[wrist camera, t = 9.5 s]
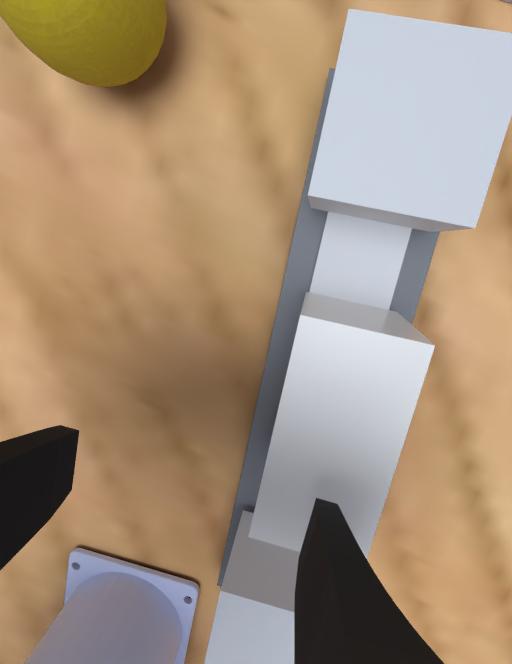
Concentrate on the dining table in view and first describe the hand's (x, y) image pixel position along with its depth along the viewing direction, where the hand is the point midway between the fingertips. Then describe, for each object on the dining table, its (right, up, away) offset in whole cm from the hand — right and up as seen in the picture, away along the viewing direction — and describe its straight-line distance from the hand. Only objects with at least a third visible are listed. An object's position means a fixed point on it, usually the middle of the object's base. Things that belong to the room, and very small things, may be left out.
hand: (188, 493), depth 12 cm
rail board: (+5, +2, +9) cm, 10 cm away
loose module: (+5, +2, +7) cm, 9 cm away
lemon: (-4, +18, +7) cm, 19 cm away
